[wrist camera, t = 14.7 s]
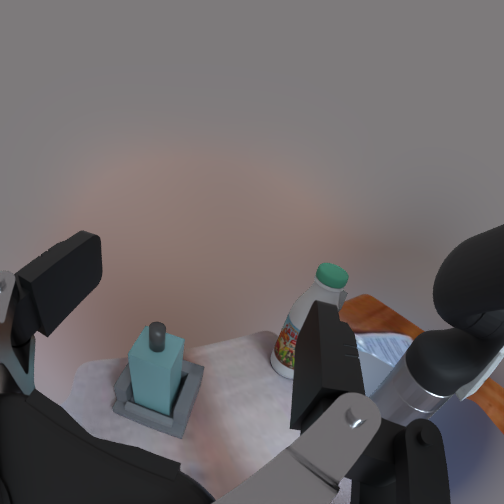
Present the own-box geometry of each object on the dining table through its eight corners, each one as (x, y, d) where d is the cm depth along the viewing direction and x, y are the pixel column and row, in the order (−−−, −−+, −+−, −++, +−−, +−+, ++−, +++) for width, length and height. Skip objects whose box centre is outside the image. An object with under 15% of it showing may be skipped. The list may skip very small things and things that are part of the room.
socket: (181, 439, 29) (183, 426, 27) (113, 411, 29) (108, 395, 27) (201, 383, 38) (204, 366, 36) (141, 362, 38) (139, 344, 36)
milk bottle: (277, 343, 50) (314, 250, 42) (314, 358, 48) (360, 269, 40) (263, 369, 44) (303, 270, 35) (304, 387, 42) (358, 293, 33)
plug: (169, 415, 31) (171, 351, 24) (135, 402, 31) (125, 334, 25) (179, 389, 35) (187, 320, 29) (147, 377, 35) (145, 306, 29)
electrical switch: (314, 305, 64) (331, 275, 60) (332, 316, 63) (351, 286, 58) (301, 326, 57) (320, 293, 52) (321, 338, 55) (343, 306, 51)
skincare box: (460, 402, 40) (501, 354, 34) (447, 384, 45) (486, 336, 39) (474, 393, 43) (511, 348, 36) (463, 377, 48) (497, 332, 41)
